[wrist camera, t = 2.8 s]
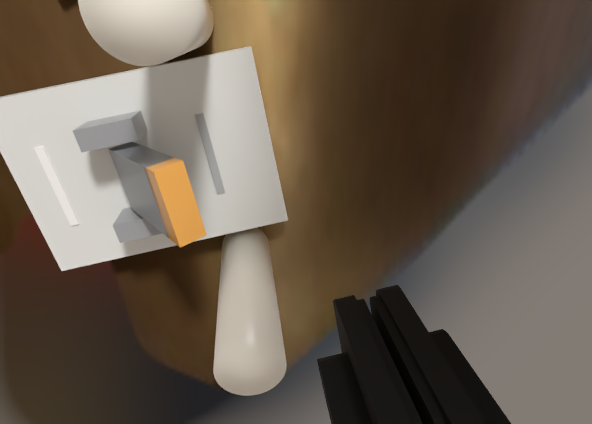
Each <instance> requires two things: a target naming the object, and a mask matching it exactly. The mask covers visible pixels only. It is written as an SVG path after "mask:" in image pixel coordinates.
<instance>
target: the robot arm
mask: <svg viewBox="0 0 592 424" xmlns="http://www.w3.org/2000/svg"><path fill="white" fill-rule="evenodd" d="M333 304H334V310H335V315H336V321H337V327H338V332H339V338H340V344H341V349H342V353H341V354H337V355H333V356H329V357H325V358H321V359H317V361H318V366H319V371H320V376H321V380H322V385H323V389H324V394H325V398H326V403H327V407H328V411H329V415H330V419H331V424H511V423H510V422H509V420H508V419H507V417H506V416H505V414H504V413H503V412H502V410H501V409H500V407H499V406H498V404H497V403H496V401H495V400H494V399H493V397H492V396H491V394H490V393H489V391H488V390H487V389H486V387H485V386H484V384H483V383H482V381H481V380H480V378H479V377H478V376H477V374H476V373H475V372H474V370H473V369H472V367H471V366H470V364H469V363H468V361H467V360H466V359H465V357H464V356H463V354H462V353H461V351H460V350H459V349H458V347H457V346H456V344H455V343H454V341H453V340H452V338H451V337H450V336H449V334H448V333H447V332H446V331H445V330H443V329H441V330H437V331H433V332H428V331H427V329H426V328H425V326H424V324H423V323H422V321H421V320H420V318H419V316H418V315H417V313H416V312H415V310H414V309H413V307H412V305H411V304H410V302H409V301H408V299H407V298H406V296H405V294H404V293H403V291H402V290H401V288H400V287H399V286H398V285H395V286H391V287H386V288H382V289H378V290H376V296H373V297H370V305H371V313H372V315H371V313H370V311H369V309H368V307H367V305H366V302H365V301H364V299H361V300H356V298H355V296H354V295H352V296H348V297H344V298H340V299H335V300H333Z"/></svg>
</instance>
